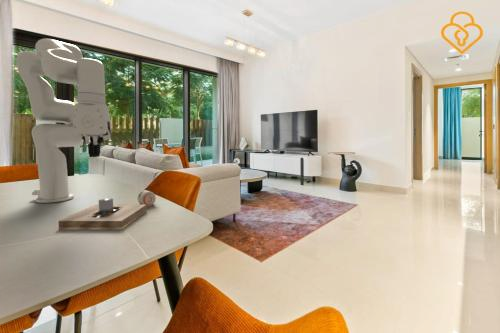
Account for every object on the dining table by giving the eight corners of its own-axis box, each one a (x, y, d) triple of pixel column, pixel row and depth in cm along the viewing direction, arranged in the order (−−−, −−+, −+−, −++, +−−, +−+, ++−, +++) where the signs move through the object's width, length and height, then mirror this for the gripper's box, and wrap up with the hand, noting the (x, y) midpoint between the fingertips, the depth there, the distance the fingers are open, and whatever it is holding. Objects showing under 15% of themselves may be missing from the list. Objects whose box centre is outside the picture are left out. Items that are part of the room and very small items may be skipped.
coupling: (108, 213, 87) (107, 196, 86) (120, 213, 87) (119, 196, 86) (92, 222, 78) (90, 203, 77) (105, 222, 78) (104, 203, 77)
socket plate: (58, 229, 73) (58, 220, 73) (96, 211, 91) (95, 204, 91) (122, 229, 73) (121, 220, 73) (146, 211, 91) (146, 204, 91)
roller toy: (136, 206, 99) (135, 191, 98) (152, 203, 103) (151, 188, 102) (141, 208, 96) (140, 193, 95) (157, 205, 100) (156, 190, 99)
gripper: (60, 97, 78) (63, 157, 81) (109, 99, 79) (111, 158, 81) (76, 100, 86) (79, 154, 88) (121, 102, 86) (122, 156, 88)
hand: (94, 156), depth 85 cm, fingers closed
